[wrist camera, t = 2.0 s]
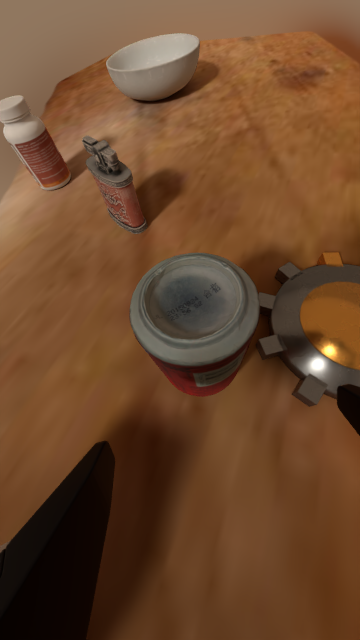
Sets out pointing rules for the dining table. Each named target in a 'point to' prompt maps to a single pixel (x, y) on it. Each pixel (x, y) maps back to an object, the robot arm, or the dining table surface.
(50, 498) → the robot arm
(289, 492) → the dining table surface
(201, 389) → the soda can
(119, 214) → the lighter
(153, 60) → the serving bowl
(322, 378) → the sprocket plate
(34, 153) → the pill bottle
